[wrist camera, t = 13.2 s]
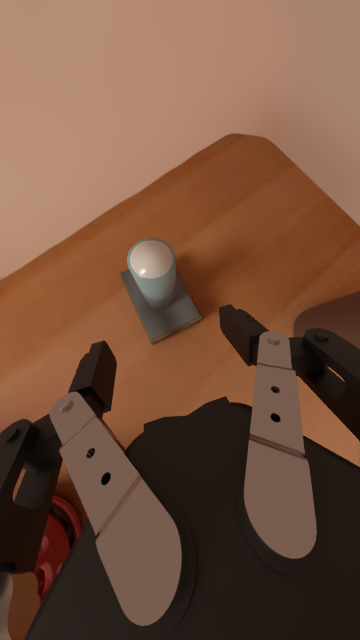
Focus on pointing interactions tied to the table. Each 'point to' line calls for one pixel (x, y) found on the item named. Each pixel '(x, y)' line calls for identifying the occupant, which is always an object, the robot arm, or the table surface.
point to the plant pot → (56, 543)
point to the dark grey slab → (162, 310)
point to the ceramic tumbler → (154, 271)
